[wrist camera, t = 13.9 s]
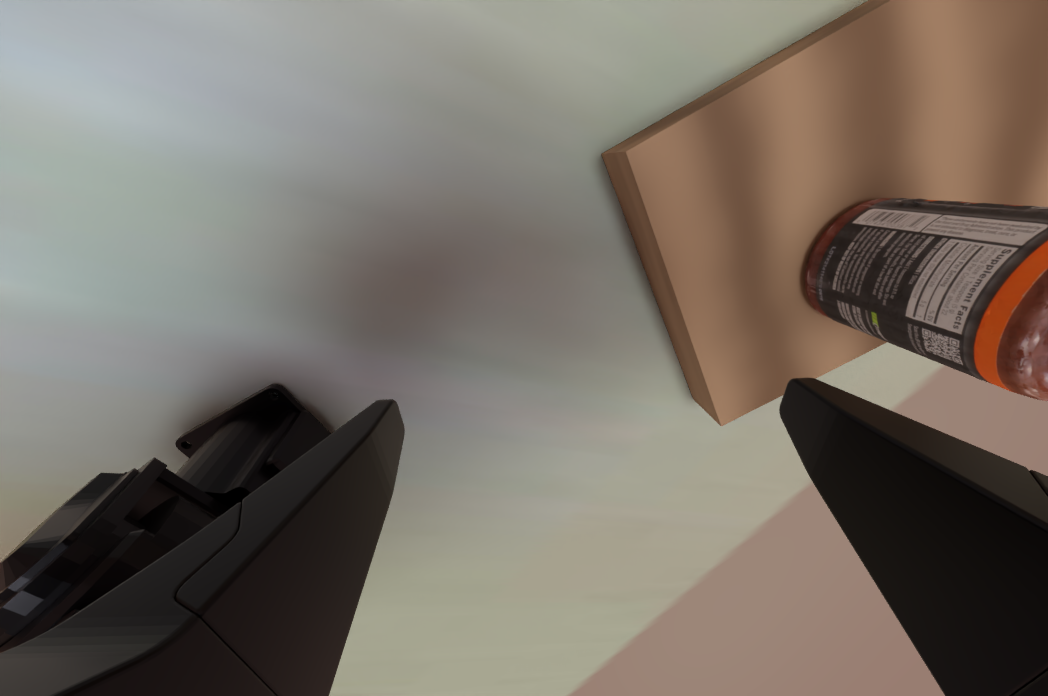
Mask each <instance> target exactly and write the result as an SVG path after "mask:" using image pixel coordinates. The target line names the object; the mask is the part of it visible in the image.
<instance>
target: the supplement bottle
mask: <svg viewBox="0 0 1048 696" xmlns="http://www.w3.org/2000/svg"><path fill="white" fill-rule="evenodd" d="M805 289H806V294H807V296H808V299H809V301H810V303H811V304H812V306H813V307H814V308H815V309H816V310H817V311H818V312H819V313H821V314H822V315H824V316H826V317H828V318H830V319H832V320H834V321H836V322H838V323H841V324H844V325H846V326H849V327H851V328H854V329H856V330H859V331H861V332H864V333H866V334H868V335H871V336H874V337H876V338H878V339H881V340H883V341H886V342H889V343H891V344H894V345H896V346H898V347H901V348H904V349H906V350H909V351H911V352H913V353H916V354H919V355H921V356H924V357H926V358H928V359H931V360H933V361H936V362H939V363H941V364H944V365H946V366H949V367H951V368H953V369H956V370H959V371H961V372H964V373H966V374H969V375H971V376H973V377H976V378H978V379H980V380H984V381H986V382H989V383H991V384H994V385H997V386H1000V387H1001V388H1004V389H1006V390H1009V391H1011V392H1014V393H1018V394H1021V395H1024V396H1028V397H1031V398H1035V399H1038V400H1044V401H1048V207H1040V206H1022V205H1008V204H993V203H971V202H962V201H940V200H926V199H907V198H882V199H876V200H870V201H866V202H864V203H862V204H859V205H857V206H855V207H853V208H851V209H850V210H849V211H847V212H846V213H844V214H843V215H841V216H840V217H839V218H837V219H836V220H835V221H834V222H833V223H832V224H830V226H829V227H828V228H827V229H826V230H825V231H824V232H823V233H822V235H821V237H820V238H819V240H818V242H817V243H816V244H815V246H814V248H813V250H812V253H811V255H810V257H809V260H808V262H807V266H806V268H805Z"/></svg>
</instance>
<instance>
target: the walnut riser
mask: <svg viewBox="0 0 1048 696" xmlns="http://www.w3.org/2000/svg"><path fill="white" fill-rule="evenodd" d="M601 155H602V157H603V160H604V163H605V165H606V168H607V171H608V173H609V176H610V179H611V181H612V184H613V187H614V189H615V192H616V195H617V197H618V200H619V203H620V205H621V208H622V211H623V213H624V216H625V219H626V221H627V224H628V227H629V229H630V232H631V235H632V237H633V240H634V243H635V245H636V248H637V251H638V253H639V256H640V259H641V261H642V264H643V266H644V269H645V272H646V274H647V277H648V280H649V282H650V285H651V288H652V290H653V293H654V296H655V298H656V301H657V304H658V306H659V309H660V312H661V314H662V317H663V320H664V322H665V325H666V328H667V330H668V333H669V336H670V338H671V341H672V344H673V346H674V349H675V352H676V354H677V357H678V360H679V362H680V365H681V368H682V370H683V373H684V376H685V378H686V381H687V384H688V386H689V389H690V392H691V394H692V397H693V399H694V400H695V401H696V402H697V403H698V404H699V405H700V406H701V407H702V408H703V409H704V410H705V411H706V412H707V413H708V414H709V415H710V416H711V417H712V418H713V419H714V420H715V421H716V422H717V423H718V424H719V425H720V426H723V425H725V424H727V423H729V422H731V421H733V420H735V419H737V418H739V417H741V416H742V415H744V414H746V413H748V412H750V411H752V410H754V409H756V408H758V407H760V406H762V405H764V404H766V403H768V402H770V401H772V400H774V399H776V398H778V397H780V396H782V395H784V392H785V389H786V386H787V384H788V382H789V381H790V380H791V379H793V378H806V377H810V378H814V379H815V378H817V377H819V376H821V375H823V374H825V373H827V372H829V371H831V370H833V369H835V368H837V367H839V366H841V365H843V364H845V363H847V362H849V361H851V360H853V359H855V358H857V357H859V356H861V355H863V354H865V353H867V352H869V351H871V350H873V349H875V348H877V347H879V346H880V345H882V344H884V343H886V341H883V340H881V339H878V338H876V337H874V336H871V335H868V334H866V333H864V332H861V331H859V330H856V329H854V328H851V327H849V326H846V325H844V324H841V323H838V322H836V321H834V320H832V319H830V318H828V317H826V316H824V315H822V314H821V313H819V312H818V311H817V310H816V309H815V308H814V307H813V306H812V304H811V303H810V301H809V299H808V296H807V294H806V289H805V268H806V266H807V262H808V260H809V257H810V255H811V253H812V250H813V248H814V246H815V244H816V243H817V242H818V240H819V238H820V237H821V235H822V233H823V232H824V231H825V230H826V229H827V228H828V227H829V226H830V224H832V223H833V222H834V221H835V220H836V219H837V218H839V217H840V216H841V215H843V214H844V213H846V212H847V211H849V210H850V209H851V208H853V207H855V206H857V205H859V204H862V203H864V202H866V201H870V200H876V199H882V198H907V199H926V200H940V201H962V202H971V203H993V204H1008V205H1022V206H1040V207H1048V0H869V1H867V2H865V3H863V4H862V5H860V6H858V7H856V8H855V9H853V10H851V11H849V12H848V13H846V14H844V15H842V16H841V17H839V18H837V19H835V20H834V21H832V22H830V23H828V24H827V25H825V26H823V27H822V28H820V29H818V30H816V31H815V32H813V33H811V34H809V35H808V36H806V37H804V38H802V39H801V40H799V41H797V42H795V43H794V44H792V45H790V46H788V47H787V48H785V49H783V50H781V51H780V52H778V53H776V54H774V55H773V56H771V57H769V58H768V59H766V60H764V61H762V62H761V63H759V64H757V65H755V66H754V67H752V68H750V69H748V70H747V71H745V72H743V73H741V74H740V75H738V76H736V77H734V78H733V79H731V80H729V81H727V82H726V83H724V84H722V85H720V86H719V87H717V88H715V89H714V90H712V91H710V92H708V93H707V94H705V95H703V96H701V97H700V98H698V99H696V100H694V101H693V102H691V103H689V104H687V105H686V106H684V107H682V108H680V109H679V110H677V111H675V112H673V113H672V114H670V115H668V116H667V117H665V118H663V119H661V120H660V121H658V122H656V123H654V124H653V125H651V126H649V127H647V128H646V129H644V130H642V131H640V132H639V133H637V134H635V135H633V136H632V137H630V138H628V139H626V140H625V141H623V142H621V143H619V144H618V145H616V146H614V147H613V148H611V149H609V150H607V151H606V152H604V153H602V154H601Z"/></svg>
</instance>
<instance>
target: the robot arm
mask: <svg viewBox="0 0 1048 696" xmlns="http://www.w3.org/2000/svg"><path fill="white" fill-rule="evenodd" d="M271 392H274V393H276V394H278V397H276V396H273V395H272V394H271ZM779 411H780V416H781V419H782V421H783V423H784V425H785V427H786V429H787V431H788V434H789V436H790V438H791V440H792V442H793V444H794V446H795V448H796V450H797V452H798V454H799V456H800V458H801V461H802V463H803V465H804V467H805V469H806V471H807V472H808V474H809V476H810V478H811V480H812V481H813V483H814V485H815V487H816V488H817V490H818V491H819V493H820V495H821V496H822V498H823V500H824V501H825V503H826V504H827V506H828V508H829V509H830V511H831V512H832V514H833V516H834V517H835V519H836V520H837V522H838V524H839V525H840V527H841V528H842V530H843V532H844V533H845V535H846V537H847V538H848V540H849V541H850V543H851V545H852V546H853V548H854V550H855V551H856V553H857V554H858V556H859V558H860V559H861V561H862V562H863V564H864V566H865V567H866V569H867V570H868V572H869V574H870V575H871V577H872V579H873V580H874V582H875V583H876V585H877V587H878V588H879V590H880V591H881V593H882V595H883V596H884V598H885V600H886V601H887V602H888V604H889V606H890V608H891V609H892V611H893V612H894V614H895V616H896V617H897V619H898V620H899V622H900V623H901V625H902V627H903V628H904V630H905V632H906V633H907V635H908V637H909V638H910V640H911V641H912V643H913V645H914V646H915V648H916V650H917V651H918V653H919V654H920V656H921V658H922V659H923V661H924V662H925V664H926V666H927V667H928V669H929V670H930V672H931V674H932V675H933V677H934V678H935V680H936V682H937V683H938V685H939V687H940V688H941V690H942V691H943V693H944V694H945V696H1048V476H1045V475H1043V474H1041V473H1038V472H1036V471H1033V470H1030V471H1029V470H1028V469H1027V468H1026V467H1024V466H1021V465H1019V464H1017V463H1014V462H1012V461H1010V460H1007V459H1005V458H1002V457H1000V456H997V455H995V454H993V453H990V452H988V451H986V450H983V449H981V448H978V447H976V446H974V445H971V444H969V443H967V442H964V441H961V440H959V439H957V438H955V437H952V436H950V435H948V434H945V433H943V432H940V431H938V430H936V429H933V428H931V427H928V426H926V425H924V424H921V423H919V422H917V421H914V420H912V419H910V418H907V417H905V416H902V415H900V414H898V413H895V412H893V411H890V410H888V409H886V408H883V407H881V406H879V405H876V404H874V403H871V402H869V401H867V400H864V399H862V398H860V397H857V396H855V395H852V394H850V393H848V392H845V391H843V390H840V389H838V388H836V387H833V386H831V385H829V384H826V383H824V382H821V381H819V380H817V379H814V378H810V377H806V378H793V379H791V380H790V381H789V382H788V384H787V386H786V389H785V392H784V395H783V398H782V401H781V404H780V410H779ZM404 433H405V430H404V424H403V421H402V417H401V414H400V411H399V408H398V405H397V402H396V401H395V400H393V399H389V400H377V401H376V402H374V403H373V404H371V405H370V406H369V407H367V408H366V409H365V410H363V411H362V412H361V413H359V414H358V415H356V416H355V417H354V418H352V419H351V420H350V421H348V422H347V423H346V424H344V425H343V426H342V427H340V428H339V429H338V430H336V431H335V432H333V433H332V434H330V433H329V432H328V431H327V430H326V429H325V428H324V426H323V425H322V424H321V423H320V422H319V421H318V420H317V419H316V418H315V417H314V416H313V415H312V414H311V413H310V412H308V411H306V410H305V409H304V408H303V407H302V406H301V405H300V404H299V403H298V402H297V401H296V399H295V398H294V397H293V396H292V395H291V394H290V393H289V392H288V391H287V390H286V389H285V388H283V387H282V386H280V385H277V384H273V385H270V386H268V387H266V388H264V389H262V390H261V391H259V392H257V393H255V394H254V395H252V396H250V397H248V398H246V399H245V400H243V401H241V402H239V403H238V404H236V405H234V406H232V407H231V408H229V409H227V410H225V411H223V412H222V413H220V414H218V415H216V416H215V417H213V418H211V419H209V420H208V421H206V422H204V423H202V424H200V425H199V426H197V427H195V428H193V429H192V430H190V431H188V432H186V433H185V434H183V435H182V436H181V437H180V438H179V439H178V440H177V441H176V447H177V448H178V449H179V450H180V451H181V452H182V453H184V454H185V455H186V456H188V457H189V458H190V459H189V460H188V461H187V462H186V463H185V464H184V465H183V466H182V467H181V468H180V469H179V471H178V472H177V473H176V474H174V473H173V472H171V471H169V470H168V469H166V467H167V465H166V464H164V463H162V462H161V461H159V460H158V459H156V458H153V459H152V460H150V461H149V462H148V463H146V464H145V465H144V466H142V467H141V468H140V469H138V470H136V469H135V468H134V469H132V470H131V471H129V472H128V473H127V472H125V473H124V474H116V473H100V474H99V475H98V476H96V477H95V478H94V479H92V480H91V481H90V482H89V483H87V484H86V485H85V486H84V487H83V488H82V489H80V490H79V491H78V492H77V493H76V494H75V495H73V496H72V497H71V498H70V499H69V500H68V501H66V502H65V503H64V504H63V505H62V506H61V507H59V508H58V509H57V510H56V511H55V512H54V513H53V514H51V515H50V516H49V517H48V518H47V519H46V520H45V521H44V522H42V523H41V524H40V525H39V526H38V527H37V528H36V529H35V530H34V531H33V532H32V533H31V534H30V535H29V536H28V537H27V538H26V539H25V540H23V541H22V542H21V543H20V544H19V545H18V546H17V547H16V548H15V549H14V550H13V551H12V552H11V553H10V554H9V555H8V556H7V557H6V558H5V559H4V560H3V561H2V562H1V563H0V696H329V693H330V690H331V687H332V684H333V681H334V677H335V674H336V671H337V668H338V665H339V662H340V659H341V655H342V652H343V649H344V646H345V643H346V640H347V637H348V633H349V630H350V627H351V624H352V621H353V618H354V615H355V611H356V608H357V605H358V602H359V599H360V596H361V593H362V589H363V586H364V583H365V580H366V577H367V574H368V571H369V567H370V564H371V561H372V558H373V555H374V552H375V549H376V545H377V542H378V539H379V536H380V533H381V530H382V527H383V523H384V520H385V517H386V514H387V511H388V508H389V505H390V501H391V498H392V494H393V490H394V485H395V481H396V475H397V470H398V465H399V460H400V455H401V450H402V445H403V440H404ZM186 441H187V442H190V443H191V444H189V443H187V442H186Z"/></svg>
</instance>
